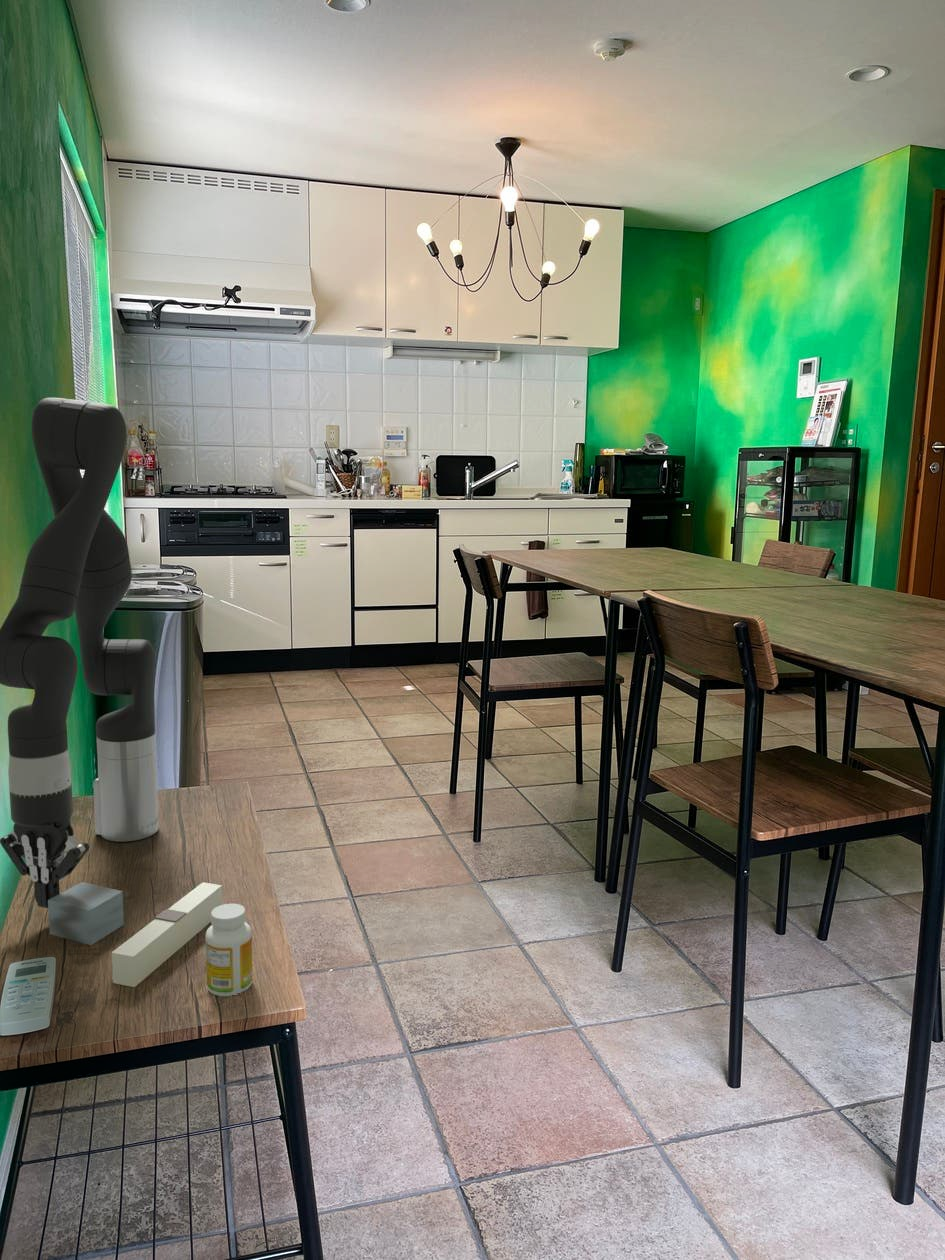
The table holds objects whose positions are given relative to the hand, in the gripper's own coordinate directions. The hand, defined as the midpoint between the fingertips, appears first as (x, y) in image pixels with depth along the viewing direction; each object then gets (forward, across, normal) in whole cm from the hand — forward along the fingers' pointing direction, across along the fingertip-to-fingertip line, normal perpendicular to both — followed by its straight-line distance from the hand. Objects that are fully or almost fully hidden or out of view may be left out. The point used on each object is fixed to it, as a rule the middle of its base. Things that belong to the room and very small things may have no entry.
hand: (47, 904), depth 124 cm
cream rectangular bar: (+2, -19, 0) cm, 19 cm away
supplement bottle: (+3, -31, +6) cm, 32 cm away
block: (+3, -6, 0) cm, 7 cm away
